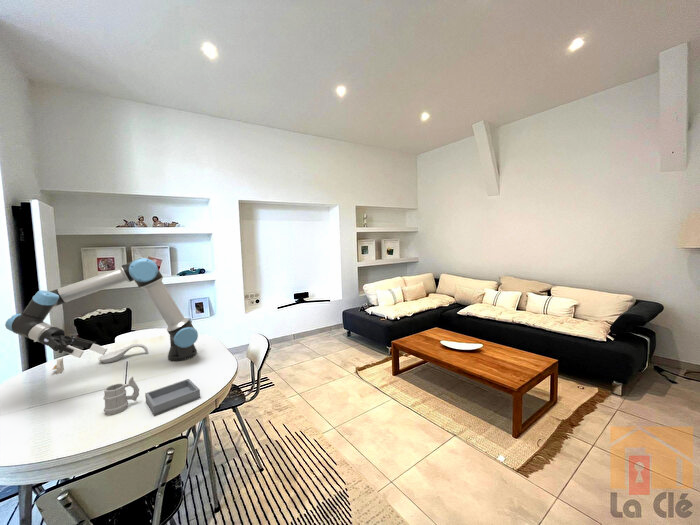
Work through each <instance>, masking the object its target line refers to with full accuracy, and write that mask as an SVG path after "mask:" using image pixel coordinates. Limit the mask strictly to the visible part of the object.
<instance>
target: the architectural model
mask: <svg viewBox="0 0 700 525" xmlns="http://www.w3.org/2000/svg"><path fill="white" fill-rule="evenodd" d="M53 370H56V375H60V374H63V372H64V370H65V367H64V357H61V358H59V359H56V364H55V365H54V366H53V368H52V371H53Z"/></svg>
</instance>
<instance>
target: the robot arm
mask: <svg viewBox="0 0 700 525" xmlns="http://www.w3.org/2000/svg"><path fill="white" fill-rule="evenodd" d="M163 279H164V277H163V275H162V272H160V270H159V268H158V265H157V263H156V262H155V261H153V260H152V259H150V258H146V257H140V258H136V259H134V260H132V261H130V262H127V263H126V264H122V265H120V267H118V268H116V269H112V270H110V271H107V272H105V273H101V274H97V275H96V276H93V277H90V278H85V279H83V280H81V281H77V282H75V283H70V284H69V285H65V286H62V287H58V288H57V289H53V290H51V291H49V290H42V289H41V290H38V291H37V292H35V295H33V296H32V299H31V300H30V301H29V303H28V305H27V306H26V307H25V308H24V310H23V311H22V312H21V313H17V314H13V315H11V317H9V318H8V319H7V320H6V322H5V324H4V326H5V329H7V330H9V331H10V332H11V333H12V332H13V334H16V335H20V336H22V337H24V338H27V339H30V340H33V343H36V342H38V343H40V344H42V345H45V346H48V347H49V348H50V349H52V350H53V351H54V352H58V353H59V354H62V353H63V352H64V353H65V354H68V355H71V356H73V357H77V358H79V359H80V358H81V357H82V355H83V354H84V353H85V351H84V350H82V349H80V348H85V349H89V351H93V352H95V353H97V354H99V355H101V356H102V355H104V354H106V352H107V350H108V348H107V347H104V346H101V345H100V344H97V341H92V340H88V339H84V338H81V337H78V336H75V335H71V336H70V335H66V333H65V330H63V329H62V328H59V327H56V326H54V325H53V324H50V323H47V322H44V320H45V319H46V318H47V316H48V315H49V313H50V312H51V310H52V309H54V307H57V306H60V305H63V304H66V303H69V302H70V301H74V300H77V299H79V298H82V297H84V296H85V297H87V296H88V295H91V294H94V293H96V292H99V291H102V290H105V289H108V288H111V287H113V286H116V285H119V284H122V283H125V282H129V283H130V282H133V281H134V282H135V283H136V286H137V287H138V288H139V289H143V290H144V291H145V292H146V294H147V296H148V297H149V299H150V300H151V302H152V304H153V306H155V308H156V309H157V311H158V313H159V315H160V316H161V317H162V319H163V321H164V323H165V324H166V325H167V328H166V330H167V333H168V335H169V341H170V342H169V343H170V347H169V350H168V354H167V360H168V361H170V362H181V361H187V360H189V358H190V359H191V357H192V358H194V357H196V355H198V354H197V353H198V352H197V348H196V346H195V343H196V342H197V340H198V338H199V333H198V330H197V329H196V328H195V327H194V325H193V324H192V318H191V317H184V315H183V313H182V312H181V310H180V308H179V307H178V305H177V304H176V302H175V301H174V299H173V297H172V295H171V294H170V292H169V290H168V289H167V287H166V285H165V284H164V283H163ZM74 346H76V347H74ZM77 347H80V348H77ZM193 356H194V357H193Z"/></svg>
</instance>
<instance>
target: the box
mask: <svg viewBox="0 0 700 525" xmlns="http://www.w3.org/2000/svg"><path fill="white" fill-rule="evenodd" d="M144 393H145V394H144V397H145V403H146V405H147V407H148V408H149V410H150V412H151V414H152V415H153V417H155V416H159V415H161V414H164V413H167V412H168V411H171V410H174V409H177V408H179V407H182V406H184V405H187V404H189V403H192V402H194V401H196V400H199V398H200V399H201V390H200V388H199V387H198V386H197V385H196V384H195V383H194V382H193V381H192V380H191V379H190V378H187V379H184V380H181V381H178V382H175V383H172V384H168V385H166V386H163V387H159V388H157V389H156V388H155V389H154V390H150V391H148V392H144Z"/></svg>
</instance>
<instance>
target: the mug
mask: <svg viewBox="0 0 700 525" xmlns="http://www.w3.org/2000/svg"><path fill="white" fill-rule="evenodd" d="M128 387H131V388H132V389H133V392H132V394H131V395H127V389H126V388H128ZM139 392H140V387H139V385H138V384H137V383H136V381H135V379H134V376H131V377H130V378H129V380H128V383H125V384H124V383H123V382H120V383H114V384H112V385H109V386H107V387H105V388H104V394H103V400H104V407H103V411H104V413H105V415H107V416H113V415H117V414H119V413H122V412H123V411H125V410H126V409H128V405H129V400H131V401H134V402H136V401H137V399H138V398H139V395H140V393H139Z"/></svg>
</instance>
